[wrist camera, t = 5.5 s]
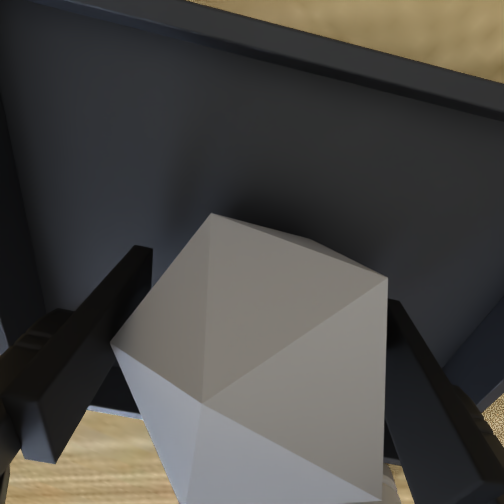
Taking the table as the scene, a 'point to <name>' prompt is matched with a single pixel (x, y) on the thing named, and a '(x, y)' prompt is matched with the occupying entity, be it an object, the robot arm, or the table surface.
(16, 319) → the black tray
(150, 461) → the table surface
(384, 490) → the travel mug
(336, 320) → the die
